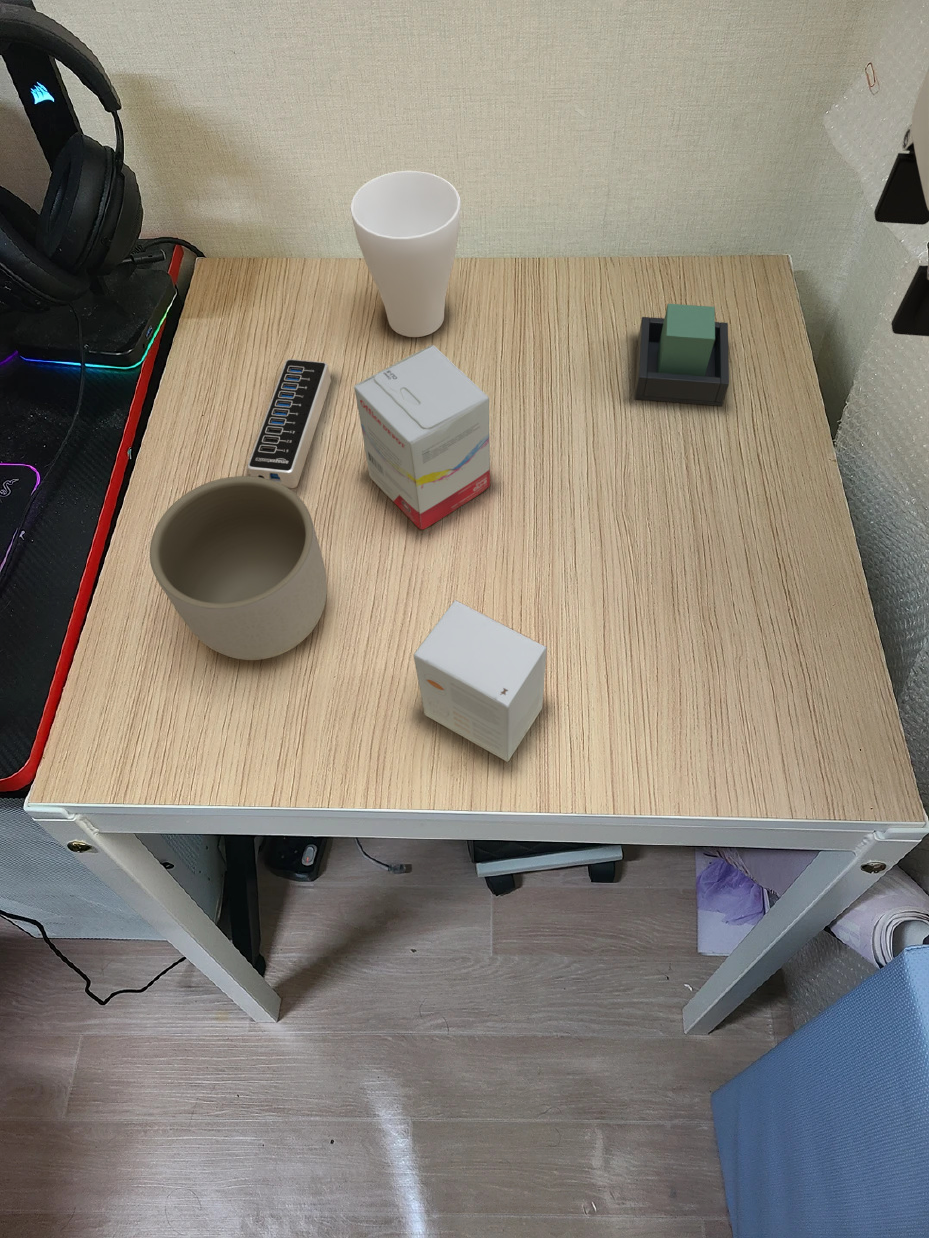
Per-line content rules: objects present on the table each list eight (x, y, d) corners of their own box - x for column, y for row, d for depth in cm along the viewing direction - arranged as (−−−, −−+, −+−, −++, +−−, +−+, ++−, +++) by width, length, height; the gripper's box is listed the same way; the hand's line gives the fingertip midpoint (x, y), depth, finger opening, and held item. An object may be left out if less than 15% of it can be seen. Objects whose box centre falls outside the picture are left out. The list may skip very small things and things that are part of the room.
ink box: (493, 487, 82) (493, 395, 71) (419, 533, 79) (408, 445, 69) (439, 433, 85) (431, 338, 75) (366, 475, 83) (349, 384, 73)
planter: (340, 665, 73) (317, 596, 63) (190, 686, 72) (145, 619, 63) (331, 545, 79) (309, 466, 69) (193, 563, 78) (152, 486, 69)
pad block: (702, 354, 89) (714, 306, 84) (701, 386, 87) (715, 339, 82) (657, 351, 89) (667, 303, 84) (656, 382, 87) (666, 335, 82)
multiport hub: (332, 379, 89) (328, 361, 87) (296, 488, 82) (291, 472, 80) (290, 375, 90) (285, 358, 88) (251, 483, 83) (245, 468, 81)
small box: (543, 709, 70) (550, 646, 61) (507, 765, 68) (509, 708, 59) (459, 662, 72) (454, 596, 63) (422, 715, 70) (411, 653, 61)
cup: (381, 281, 97) (365, 165, 85) (473, 291, 96) (470, 175, 84) (356, 346, 92) (336, 233, 80) (453, 358, 90) (448, 244, 79)
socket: (721, 345, 90) (728, 322, 88) (722, 406, 86) (729, 384, 83) (637, 339, 91) (642, 316, 88) (634, 399, 87) (638, 377, 84)
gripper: (1246, 32, 31) (1002, 387, 46) (1128, -166, 39) (955, 186, 54) (1023, 24, 32) (854, 376, 46) (955, -169, 40) (831, 180, 55)
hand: (909, 273), depth 50 cm, fingers open, 9 cm apart
